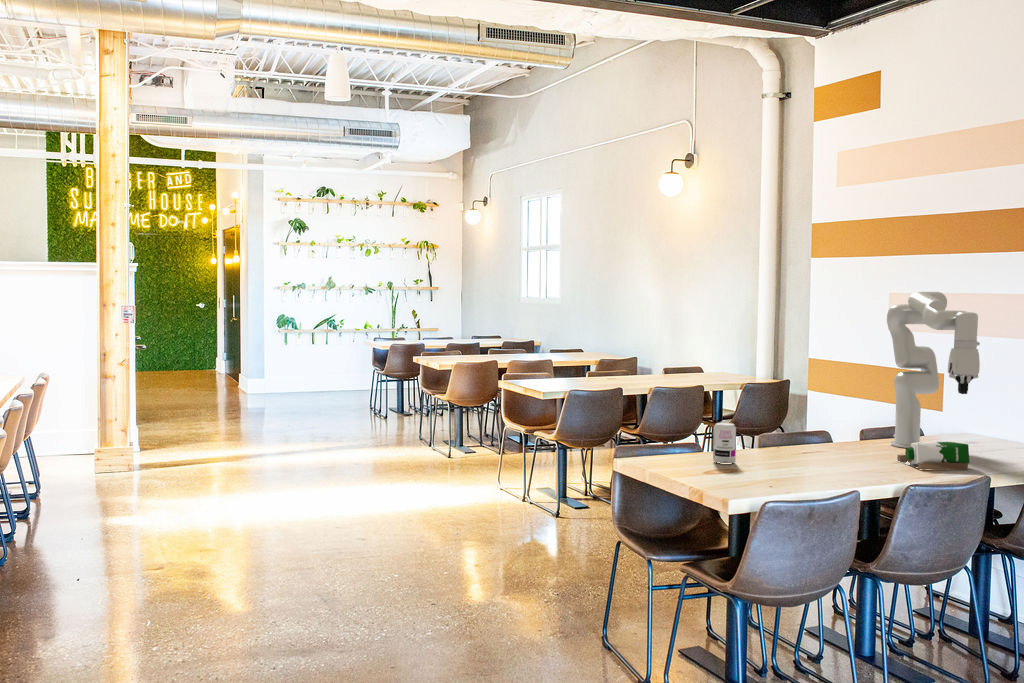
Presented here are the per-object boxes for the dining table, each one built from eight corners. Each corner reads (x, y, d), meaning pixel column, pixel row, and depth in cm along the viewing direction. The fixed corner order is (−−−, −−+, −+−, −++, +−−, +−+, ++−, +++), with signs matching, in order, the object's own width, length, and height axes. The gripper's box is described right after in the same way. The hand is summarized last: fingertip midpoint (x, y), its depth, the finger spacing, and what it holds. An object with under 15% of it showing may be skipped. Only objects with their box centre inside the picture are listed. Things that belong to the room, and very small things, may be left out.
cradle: (897, 461, 329) (897, 454, 329) (942, 460, 330) (942, 454, 330) (920, 470, 313) (920, 463, 313) (967, 469, 314) (967, 463, 314)
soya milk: (960, 441, 322) (904, 441, 325) (969, 441, 313) (911, 442, 316) (961, 464, 321) (905, 465, 324) (970, 466, 312) (913, 466, 315)
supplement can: (727, 460, 331) (728, 421, 330) (739, 464, 323) (740, 425, 322) (709, 461, 328) (709, 422, 327) (720, 465, 320) (721, 426, 319)
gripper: (978, 344, 323) (976, 392, 325) (940, 344, 323) (938, 392, 324) (990, 346, 316) (988, 395, 318) (951, 346, 315) (949, 395, 317)
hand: (962, 393), depth 321 cm, fingers closed
